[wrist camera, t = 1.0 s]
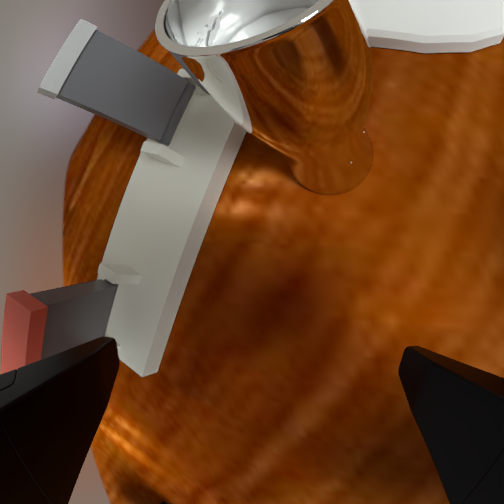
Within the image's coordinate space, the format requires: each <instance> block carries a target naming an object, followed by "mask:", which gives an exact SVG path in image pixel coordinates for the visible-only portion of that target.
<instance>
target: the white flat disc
mask: <svg viewBox="0 0 504 504" xmlns="http://www.w3.org/2000/svg"><path fill="white" fill-rule="evenodd" d="M358 2H359V5H360V8H361V12H362V15H363V18H364V21H365V25H366V30H367V34H368V39H369V44H370V47H380V48H390V49H398V50H405V51H412V52H419V53H445V52H472V51H475V50H479V49H482V48H485V47H488V46H492V45H495V44H498V43H501V41H502V39H503V37H504V0H358Z"/></svg>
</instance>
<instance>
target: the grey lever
mask: <svg viewBox="0 0 504 504" xmlns="http://www.w3.org/2000/svg"><path fill="white" fill-rule="evenodd" d="M96 28H97V26H95V25H93V24H91V23H89V22H87V21H85V20H82V19H80V21H79V22H78V23H77V25H76V26H75V28H74V29H73V31H72V32H71V34H70V35H69V37H68V39H67V40H66V41H65V43H64V45H63V46H62V48H61V49H60V51H59V53H58V54H57V56H56V58H55V60H54V61H53V63H52V65H51V66H50V68H49V70H48V72H47V74H46V75H45V78H44V79H43V81H42V83H41V85H40V87H39V90H38V93H40V94H43V95H45V96H48V97H50V98H53V99H55V97H56V98H58V99H61V100H63V101H66V102H68V103H70V104H73V105H75V106H77V107H80V108H83V109H85V110H87V111H89V112H92V113H94V114H96V115H98V116H100V117H103V118H105V119H107V120H109V121H112V122H114V123H116V124H118V125H121V126H123V127H125V128H127V129H129V130H131V131H134V132H136V133H138V134H140V135H142V136H144V137H147V138H149V139H151V140H155V141H156V142H158V143H160V144H163V145H166V146H169V145H170V142H171V140H172V138H173V136H174V133H175V131H176V129H177V127H178V125H179V122H180V120H181V118H182V116H183V114H184V112H185V110H186V108H187V106H188V103H189V101H190V99H191V97H192V95H193V93H194V91H195V89H196V87H195V86H194V85H193V84H191V83H188V82H189V81H187V80H186V79H184V78H182V77H181V76H179V75H178V74H176V73H174V72H173V71H171V70H169V69H168V68H166V67H164V66H163V65H161V64H159V63H157V62H156V61H154V60H152V59H150V58H149V57H147V56H145V55H143V54H142V53H140V52H138V51H136V50H134V49H133V48H131V47H129V46H127V45H125V44H123V43H121V42H119V41H117V40H115V39H114V38H112V37H110V36H107V35H106V34H104V33H102V32H100V31H98V30H96Z"/></svg>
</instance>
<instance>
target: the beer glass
mask: <svg viewBox="0 0 504 504" xmlns="http://www.w3.org/2000/svg"><path fill="white" fill-rule="evenodd" d="M155 32H156V36H157V39H158V41H159V42H160V44H161V45H162V46H163V47H164V48H165V49H167V50H168V51H169V52H170V53H171V54H172V55H173V56H174V57H175V59H176V60H177V61H178V62H179V63H180V65H181V66H182V67H183V68H184V69H185V71H186V72H187V73H188V74H189V75H190V76H191V78H192V79H193V80H194V81H195V82H196V83H197V85H198V86H199V87H200V88H201V89H202V90H203V92H204V93H205V94H206V95H207V96H208V97H209V98H210V99H211V100H212V101H213V102H214V103H215V104H216V105H217V106H218V107H219V109H221V110H222V111H223V112H224V113H225V114H226V115H227V116H228V117H229V118H231V119H232V120H233V121H234V122H235V123H236V124H237V125H238V126H240V127H241V128H242V129H244V130H245V131H247V132H248V133H249V134H251V135H252V136H254V137H255V138H256V139H258V140H260V141H261V142H263V143H265V144H266V145H268V146H269V147H271V148H273V149H274V150H276V151H278V152H280V153H281V154H283V155H284V156H286V159H287V162H288V165H289V168H290V170H291V172H292V174H293V176H294V177H295V178H296V180H297V181H298V182H299V183H300V184H301V185H303V186H304V187H306V188H307V189H309V190H311V191H313V192H316V193H320V194H328V195H332V194H340V193H343V192H346V191H349V190H351V189H353V188H354V187H356V186H357V185H358V184H360V183H361V182H362V181H363V180H364V178H365V177H366V176H367V174H368V172H369V171H370V168H371V166H372V162H373V146H372V142H371V140H370V137H369V135H368V133H367V131H366V129H365V128H364V125H365V120H366V116H367V112H368V107H369V101H370V96H371V85H372V61H371V50H370V44H369V39H368V34H367V30H366V25H365V21H364V18H363V15H362V12H361V8H360V5H359V2H358V0H165V1H164V2H163V4H162V6H161V8H160V10H159V12H158V15H157V18H156V24H155Z"/></svg>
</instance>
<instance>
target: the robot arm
mask: <svg viewBox="0 0 504 504" xmlns="http://www.w3.org/2000/svg"><path fill="white" fill-rule="evenodd" d="M118 369H119V356H118V349H117V343H116V340H115V339H114V338H112V337H106V336H102V337H99V338H96V339H94V340H91V341H89V342H86V343H83V344H81V345H78V346H76V347H73V348H70V349H68V350H65V351H63V352H60V353H57V354H55V355H52V356H49V357H47V358H44V359H41V360H39V361H36V362H33V363H31V364H28V365H25V366H22V367H20V368H18V369H14V370H11V371H9V372H6V373H3V374H0V504H68V502H69V500H70V497H71V494H72V492H73V488H74V486H75V484H76V481H77V478H78V476H79V473H80V470H81V468H82V465H83V463H84V460H85V458H86V455H87V453H88V451H89V448H90V446H91V443H92V441H93V438H94V436H95V434H96V431H97V429H98V427H99V424H100V422H101V420H102V417H103V415H104V413H105V410H106V408H107V405H108V402H109V399H110V395H111V392H112V389H113V385H114V382H115V379H116V376H117V372H118ZM399 377H400V380H401V383H402V385H403V388H404V391H405V394H406V397H407V400H408V403H409V406H410V409H411V411H412V414H413V416H414V418H415V420H416V423H417V425H418V427H419V429H420V432H421V434H422V436H423V438H424V441H425V443H426V445H427V448H428V450H429V452H430V455H431V457H432V459H433V462H434V464H435V466H436V469H437V471H438V474H439V476H440V479H441V481H442V484H443V486H444V489H445V492H446V494H447V497H448V499H449V502H450V504H504V378H502V377H499V376H497V375H494V374H491V373H488V372H486V371H483V370H480V369H478V368H475V367H472V366H469V365H467V364H464V363H461V362H459V361H456V360H453V359H451V358H448V357H446V356H443V355H440V354H438V353H435V352H432V351H430V350H427V349H425V348H422V347H419V346H409V347H407V348H406V349H405V350H404V353H403V356H402V360H401V363H400V366H399Z"/></svg>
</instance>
